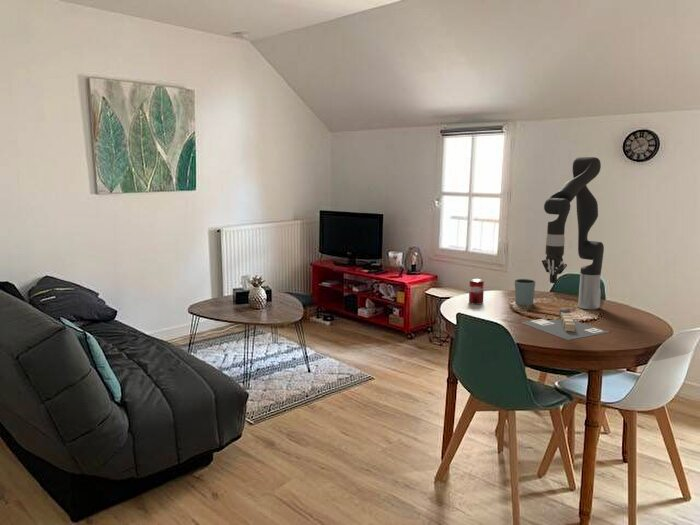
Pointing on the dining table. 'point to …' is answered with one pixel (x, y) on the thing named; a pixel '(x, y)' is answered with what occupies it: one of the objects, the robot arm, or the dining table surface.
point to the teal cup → (524, 291)
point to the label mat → (558, 329)
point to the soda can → (476, 291)
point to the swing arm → (566, 319)
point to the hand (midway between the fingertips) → (553, 282)
